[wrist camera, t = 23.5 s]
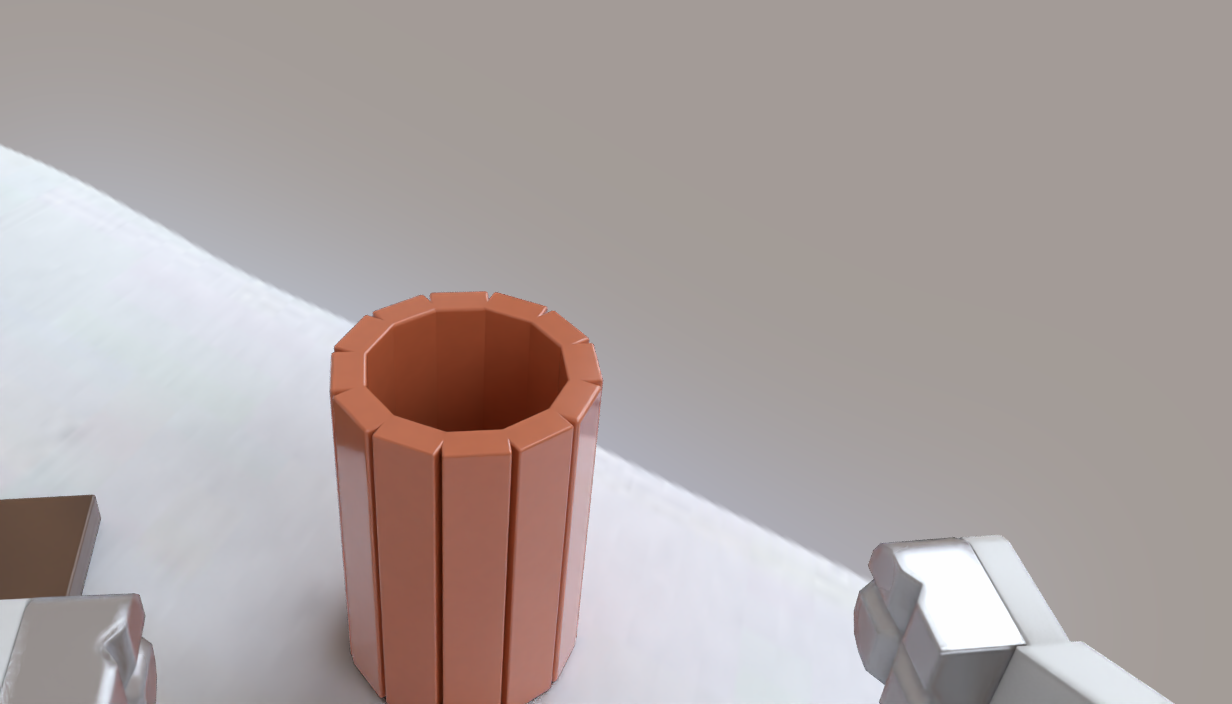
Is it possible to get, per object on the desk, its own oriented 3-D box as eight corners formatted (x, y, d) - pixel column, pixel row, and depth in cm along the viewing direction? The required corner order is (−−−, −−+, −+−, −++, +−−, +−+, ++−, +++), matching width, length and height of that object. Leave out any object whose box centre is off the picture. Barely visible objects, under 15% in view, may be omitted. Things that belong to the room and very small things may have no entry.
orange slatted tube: (349, 732, 28) (326, 462, 23) (351, 553, 33) (333, 293, 27) (589, 710, 29) (621, 447, 24) (558, 539, 34) (579, 287, 28)
